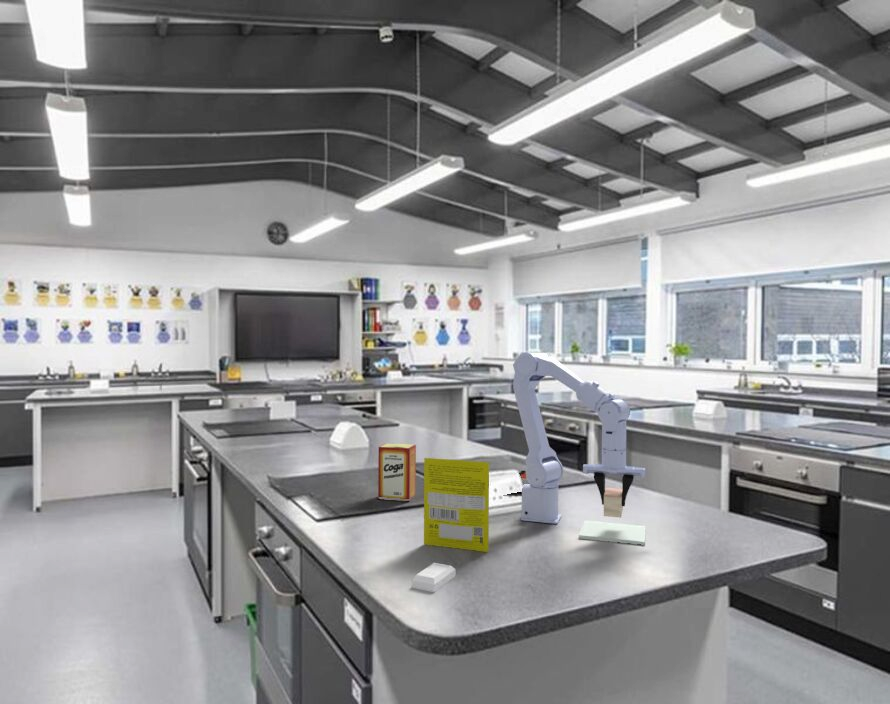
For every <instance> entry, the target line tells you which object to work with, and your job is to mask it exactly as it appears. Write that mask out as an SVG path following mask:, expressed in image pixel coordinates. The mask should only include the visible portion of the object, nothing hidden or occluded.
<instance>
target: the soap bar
mask: <svg viewBox="0 0 890 704" xmlns="http://www.w3.org/2000/svg"><path fill="white" fill-rule="evenodd" d="M455 577H456V568H454V566H452V565H448V564H443V563H437V562H433V563H431V564H430V565H428V566H427V567H425V568H424V569H423V570H421V571H420V572H418V573H417V574H415V576H413V578H412V579H411V588H412V589H417V590H422V591H427V592H431V593H436V592H438V590H439V589H441V588H442V587H444V586H445V585H446V584H447V583H449V582H450V581H451V580H452V579H454V578H455Z"/></svg>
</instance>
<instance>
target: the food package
mask: <svg viewBox="0 0 890 704" xmlns="http://www.w3.org/2000/svg"><path fill="white" fill-rule="evenodd" d="M423 465H424V466H423V467H424V468H423V475H424V476H423V478H424V479H423V482H424V485H423V487H424V488H423V489H424V490H423V545H424V544H427V545H426V546H432V545H435V546H434V547H441V546H443V547H444V548H449V547H451V549H458V548H459V549H460V550H466V549H467V550H466V551H474V550H475V551H476V552H482V553H483V552H484V553H489V546H490V545H489V535H490V534H489V533H490V532H489V531H490V529H489V525H490V524H489V523H490V521H489V520H490V519H489V518H490V517H489V516H490V510H489V509H490V508H489V507H490V498H489V497H490V495H489V494H490V488H489V474H490V463H489V462H488V461H487V462H486V461H475V460H472V461H471V460H462V459H461V460H459V459H447V458H445V459H444V458H431V457H424V464H423ZM443 547H442V548H443Z"/></svg>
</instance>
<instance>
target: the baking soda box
mask: <svg viewBox="0 0 890 704" xmlns="http://www.w3.org/2000/svg"><path fill="white" fill-rule="evenodd" d="M416 450H417V444H409V443H384V444H381V445H380V446H378V462H377V463H378V464H377V466H378V474H377V475H378V477H377V478H378V481H377V483H378V484H377V485H378V486H377V488H378V493H377V496H378V497H387V498H400V499H410V498H411V497H412V496H414V495H415V494H416V492H417V491H416V485H417V484H416V482H417V481H416V479H417V478H416V477H417V476H416V475H417V474H416V473H417V471H416V468H417V466H416V465H417V462H416V461H417V454H416V453H417V451H416ZM378 497H377V498H378Z"/></svg>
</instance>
